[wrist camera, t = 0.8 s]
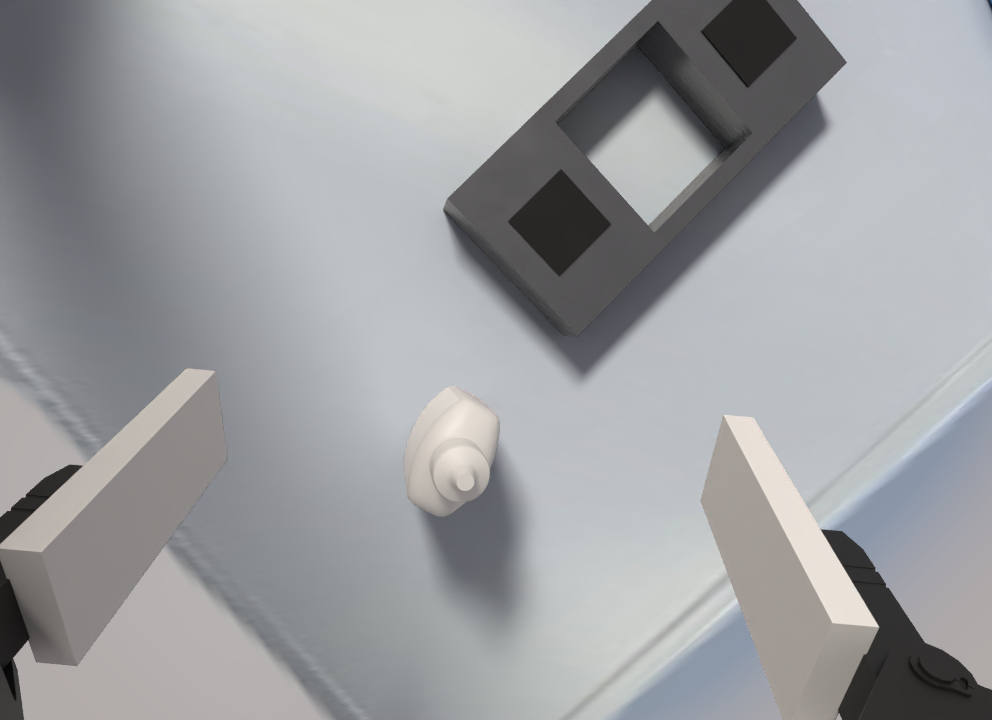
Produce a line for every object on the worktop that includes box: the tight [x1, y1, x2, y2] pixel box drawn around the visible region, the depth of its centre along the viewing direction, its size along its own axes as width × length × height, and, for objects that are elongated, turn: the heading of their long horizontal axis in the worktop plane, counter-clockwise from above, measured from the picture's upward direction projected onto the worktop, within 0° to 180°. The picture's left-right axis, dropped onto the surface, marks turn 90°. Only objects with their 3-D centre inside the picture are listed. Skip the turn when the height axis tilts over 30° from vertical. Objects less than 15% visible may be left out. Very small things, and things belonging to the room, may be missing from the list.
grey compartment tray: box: [443, 0, 847, 336], centre depth 36 cm, size 10×22×3 cm, turn 135°
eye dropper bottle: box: [404, 386, 500, 517], centre depth 31 cm, size 4×6×12 cm
